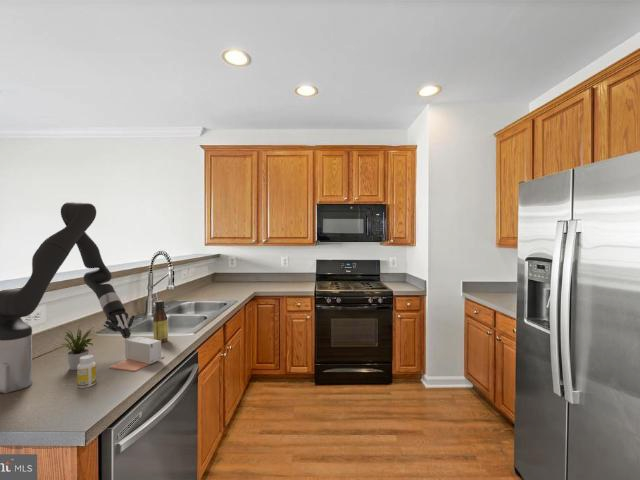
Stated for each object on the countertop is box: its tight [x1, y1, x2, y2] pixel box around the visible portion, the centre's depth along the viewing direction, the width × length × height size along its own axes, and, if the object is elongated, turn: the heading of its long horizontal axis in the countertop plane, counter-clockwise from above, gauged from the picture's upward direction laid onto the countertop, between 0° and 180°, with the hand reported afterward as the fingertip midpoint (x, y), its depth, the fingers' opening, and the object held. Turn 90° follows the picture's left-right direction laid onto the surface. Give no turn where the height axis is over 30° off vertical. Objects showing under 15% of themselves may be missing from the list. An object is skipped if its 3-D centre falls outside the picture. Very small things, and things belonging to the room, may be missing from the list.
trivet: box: [109, 355, 165, 373], centre depth 140 cm, size 16×12×1 cm
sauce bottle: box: [152, 299, 169, 344], centre depth 168 cm, size 7×6×20 cm
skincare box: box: [124, 336, 162, 365], centre depth 142 cm, size 8×6×15 cm
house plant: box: [52, 325, 95, 371], centre depth 133 cm, size 14×14×16 cm
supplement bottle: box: [76, 354, 97, 389], centre depth 119 cm, size 5×5×10 cm
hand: (127, 337), depth 145 cm, fingers closed
